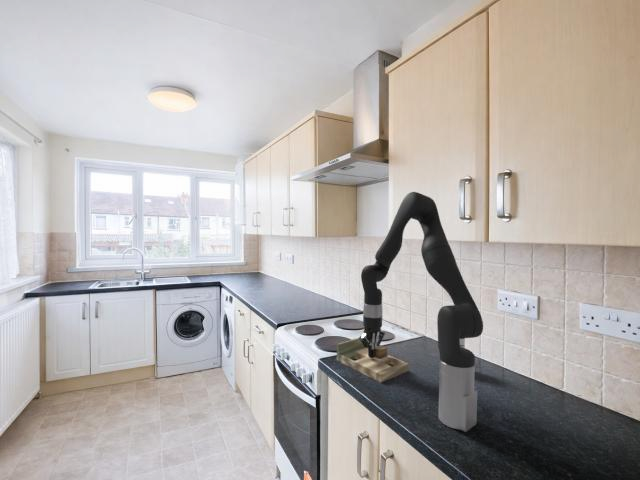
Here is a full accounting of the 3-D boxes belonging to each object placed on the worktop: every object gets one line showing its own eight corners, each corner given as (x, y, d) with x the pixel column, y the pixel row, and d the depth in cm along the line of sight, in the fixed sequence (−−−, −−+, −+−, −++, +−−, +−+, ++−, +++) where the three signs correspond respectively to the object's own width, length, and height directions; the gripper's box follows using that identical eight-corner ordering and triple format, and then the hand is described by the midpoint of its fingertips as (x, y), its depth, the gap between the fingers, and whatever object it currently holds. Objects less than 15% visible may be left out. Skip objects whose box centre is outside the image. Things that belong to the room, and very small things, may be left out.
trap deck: (408, 371, 121) (408, 353, 121) (380, 382, 112) (380, 363, 112) (363, 351, 141) (363, 336, 141) (336, 360, 131) (336, 343, 131)
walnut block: (387, 356, 128) (387, 347, 128) (379, 359, 125) (379, 350, 125) (377, 352, 132) (377, 344, 132) (369, 355, 129) (369, 346, 129)
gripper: (376, 310, 132) (376, 350, 132) (354, 314, 124) (353, 358, 124) (390, 314, 126) (389, 356, 126) (368, 319, 118) (367, 364, 118)
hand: (371, 357), depth 125 cm, fingers closed
